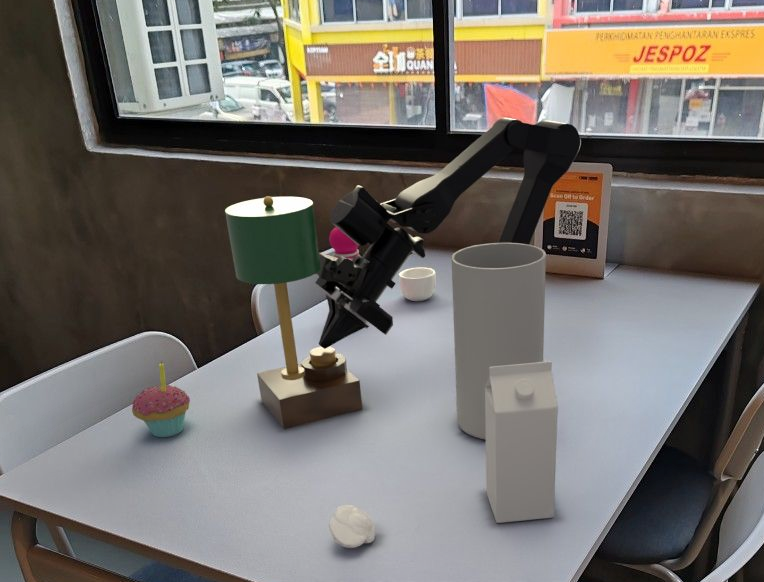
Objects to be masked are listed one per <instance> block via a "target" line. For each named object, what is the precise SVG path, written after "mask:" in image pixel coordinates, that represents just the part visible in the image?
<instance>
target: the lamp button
mask: <svg viewBox="0 0 764 582" xmlns="http://www.w3.org/2000/svg"><path fill="white" fill-rule="evenodd" d="M335 353H336V349H335V347H332V346H329V347H327V348H326V349H324V348H322V347H321V346H317V347H314V348H312V349H310V351H309V356H310V359H311V365H312V366H316V367H325V366H329V365H333V364H334V363H336V354H335Z"/></svg>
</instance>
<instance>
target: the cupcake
mask: <svg viewBox="0 0 764 582" xmlns="http://www.w3.org/2000/svg"><path fill="white" fill-rule="evenodd" d="M164 365H165V364H164V363H163V359H162V358H161V359H160V363H159V365H158V368H159V378H160V386H158V385H157V386H151V387H148V388H146V389H144V390H142V391H141V392H139V393H138V394H137V395H136V396H135V398H134V400H133V402H132V406H131V412H132V414H133V416H134V418H136V419H138V420H140V421H143V422H144V423H145V425H146V426H147V428H148V429H149V430H150V432H151V434H152V435H153V436H155V437H157V438H169V437H173V436H176V435H179V434H180V433H181V432H182V431H183V430H184V426H185V417H186V412H187V411H188V410H189V408H190V402H191V398H190V396H189V395H188V394H187V393H186V392H185V390H183V389H181V388H179V387H177V386H176V385H175V386H173V385H168V384H166V376H165V366H164Z"/></svg>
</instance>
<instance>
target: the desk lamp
mask: <svg viewBox="0 0 764 582" xmlns="http://www.w3.org/2000/svg"><path fill="white" fill-rule="evenodd" d="M224 215H225V220H226V225H227V231H228V237H229V243H230V250H231V255H232V260H233V267H234V273H235V277H236V279H237V280H238V281H240V282H243V283H247V284H252V285H273V287H274V292H275V301H276V307H277V314H278V315H277V316H278V322H279V327H280V334H281V340H282V341H281V343H282V348H283V355H284V361H285V367H286V368H285V369H283V370H282V371H281V376H282V378H283V379H285V380H297V379H300V378H303V377H304V376H305V369H304V368H303V367H300V366H298V364H299V363H298V361H299V360H298V356H297V355H298V354H297V347H296V340H295V334H294V327H293V319H292V312H291V311H292V310H291V304H290V298H289V291H288V284H287V283H291V282H292V283H293V282H297V281H300V280H304V279H307V278H309V277H312V276H314V275H317V274H316V273H317V272H318V271H319V270H320V259H319V253H320V252H319V242H318V234H317V227H316V217H315V208H314V202H313V200H311V199H309V198H306V197H300V196H270V195H269V196H268V195H267V196H265V197H262V198H261V197H260V198H255V199H254V198H253V199H250V200H244V201H241V202H237V203H235V204H231V205H230V206H227V207H226V208H225V210H224Z"/></svg>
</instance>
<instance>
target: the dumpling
mask: <svg viewBox="0 0 764 582" xmlns="http://www.w3.org/2000/svg"><path fill="white" fill-rule="evenodd" d="M328 528H329V531H330V534H331V536H332V538H333V539H334V544H336V543H337V544H338V545H339V546H341V547H343V548H347V549H355V548H359V547H360V546H362V545H363V544H371V543H372V542H374V540H375V539H376V534H377V533H376V531H377V530H376V527H375V525H374V523H373V521H372V519H371V518H370V516H369V515H368V514H367V513H366V512H365V511H364V510H363V509H361V508H359V507H356V506H354V505H352V504H344V505H340V506H338V508H336V510H335V511H334V513H333V517H332V518H331V519H330V520H329V523H328Z"/></svg>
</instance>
